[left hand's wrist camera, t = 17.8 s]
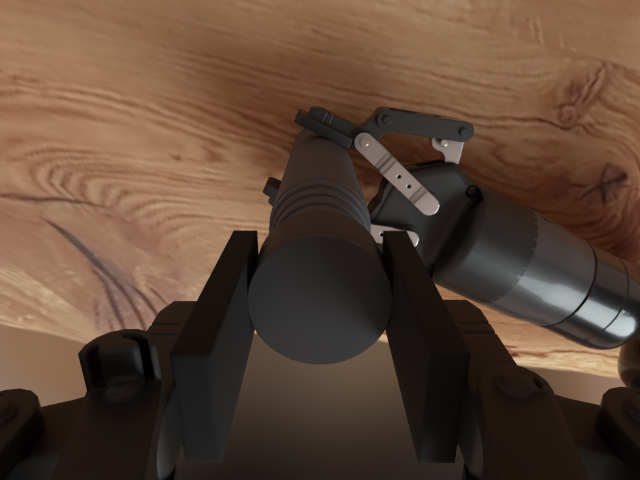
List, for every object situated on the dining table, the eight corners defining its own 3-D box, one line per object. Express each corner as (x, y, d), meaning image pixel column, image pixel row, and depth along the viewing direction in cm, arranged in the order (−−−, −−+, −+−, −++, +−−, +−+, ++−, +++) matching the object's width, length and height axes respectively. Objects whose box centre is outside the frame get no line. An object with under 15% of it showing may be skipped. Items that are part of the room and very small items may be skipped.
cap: (244, 305, 15) (232, 345, 13) (276, 193, 14) (267, 217, 11) (358, 335, 15) (364, 379, 13) (401, 230, 14) (415, 260, 12)
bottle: (354, 164, 35) (411, 324, 13) (306, 185, 36) (286, 370, 14) (334, 114, 34) (359, 202, 12) (284, 137, 34) (222, 259, 13)
